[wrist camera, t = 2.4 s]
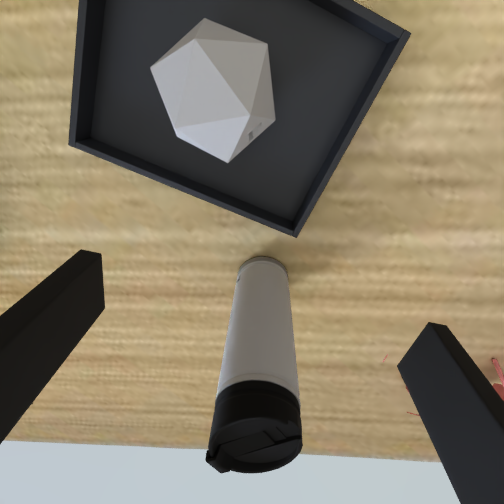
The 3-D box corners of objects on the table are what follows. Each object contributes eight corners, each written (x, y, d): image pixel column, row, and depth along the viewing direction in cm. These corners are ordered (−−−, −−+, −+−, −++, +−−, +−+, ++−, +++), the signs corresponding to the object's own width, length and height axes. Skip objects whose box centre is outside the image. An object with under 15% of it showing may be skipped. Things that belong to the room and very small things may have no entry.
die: (186, 150, 28) (234, 198, 22) (115, 64, 21) (156, 99, 15) (249, 93, 28) (314, 126, 22) (198, -13, 21) (274, -9, 15)
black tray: (86, 140, 28) (68, 145, 26) (112, -117, 19) (89, -149, 17) (294, 226, 31) (296, 238, 29) (396, 39, 23) (411, 33, 20)
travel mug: (225, 269, 35) (181, 445, 17) (272, 247, 33) (275, 419, 16) (251, 304, 37) (235, 488, 20) (296, 285, 35) (322, 470, 18)
